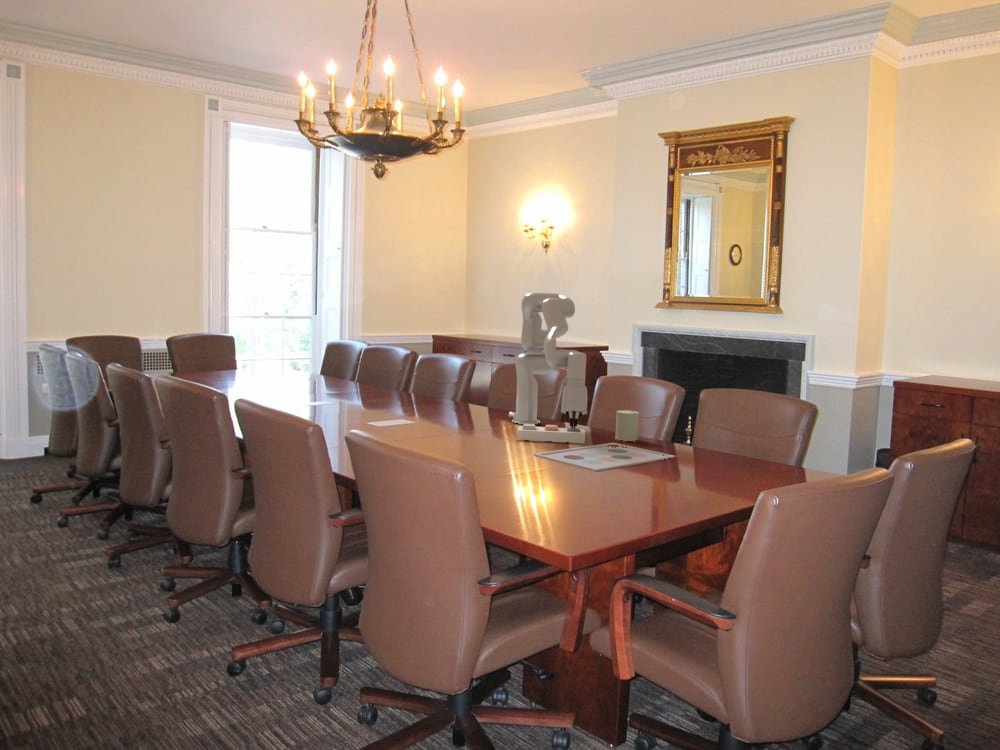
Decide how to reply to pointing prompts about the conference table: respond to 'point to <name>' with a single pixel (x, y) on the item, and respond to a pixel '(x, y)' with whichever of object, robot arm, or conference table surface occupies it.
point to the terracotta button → (551, 427)
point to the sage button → (529, 426)
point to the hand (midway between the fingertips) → (573, 427)
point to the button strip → (551, 435)
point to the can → (627, 425)
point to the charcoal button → (573, 430)
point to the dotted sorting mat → (604, 456)
